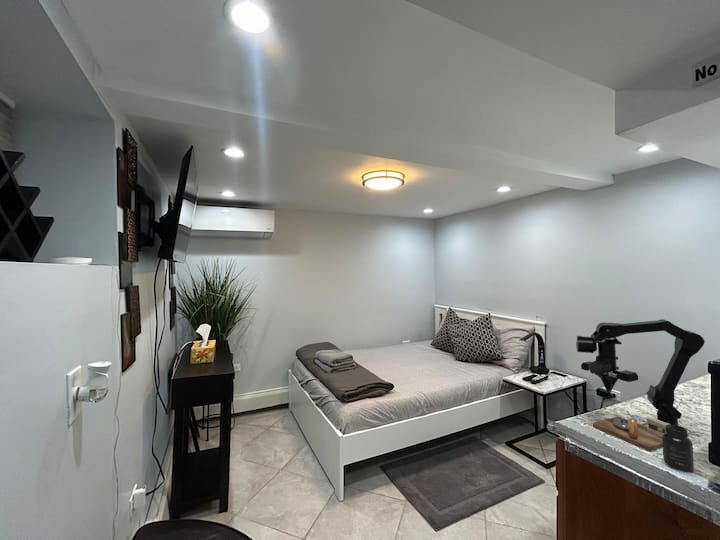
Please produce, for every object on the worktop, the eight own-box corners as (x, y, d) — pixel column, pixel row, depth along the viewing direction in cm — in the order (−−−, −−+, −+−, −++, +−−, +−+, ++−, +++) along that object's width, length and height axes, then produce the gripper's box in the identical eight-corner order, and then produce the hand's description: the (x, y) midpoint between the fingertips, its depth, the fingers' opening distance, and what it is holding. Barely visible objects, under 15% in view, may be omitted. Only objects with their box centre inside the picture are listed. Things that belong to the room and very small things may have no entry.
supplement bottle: (662, 456, 104) (660, 420, 104) (692, 464, 100) (690, 426, 100) (664, 467, 99) (662, 429, 99) (696, 475, 95) (694, 435, 95)
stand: (618, 419, 130) (617, 404, 130) (676, 442, 112) (676, 424, 112) (592, 426, 125) (592, 410, 125) (650, 451, 107) (649, 432, 107)
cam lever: (611, 420, 125) (610, 405, 125) (633, 423, 123) (632, 408, 123) (622, 436, 114) (621, 419, 114) (647, 439, 111) (646, 422, 111)
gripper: (571, 351, 136) (572, 387, 136) (618, 362, 118) (621, 403, 118) (589, 348, 139) (591, 383, 139) (638, 358, 122) (640, 398, 122)
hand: (608, 391), depth 129 cm, fingers closed
